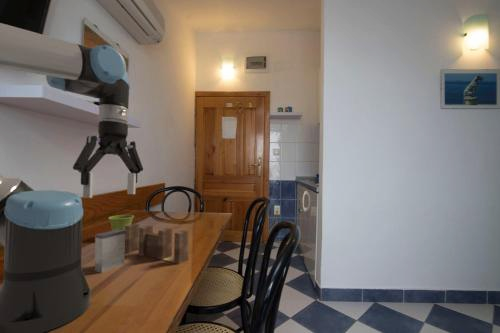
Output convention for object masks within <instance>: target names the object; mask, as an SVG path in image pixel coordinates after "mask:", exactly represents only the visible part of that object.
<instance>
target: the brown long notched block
mask: <svg viewBox="0 0 500 333" xmlns="http://www.w3.org/2000/svg"><path fill="white" fill-rule="evenodd" d="M157 232H158V233H156V232H154V226H153V225H149V224H148V225H144V226H141V227H140V224H139V223H131V224H130V225H126V226H125V253H126V254H130V253H134V252H136V251H138V256H141V257H145V256H147V257H152V258H157V260H160V261H163V262H164V261H165V262H170V263H174V264H179V265H180V264H183V263H184V262H186V261H188V260H189V230H184V229H183V230H180V231H179V230H178V231H176V232H174V243H173V228H170V227H166V228H162V229H159V230H158V231H157ZM173 244H174V247H173ZM173 248H174V249H173ZM173 250H174V251H173ZM173 252H174V254H173Z"/></svg>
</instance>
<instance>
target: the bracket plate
mask: <svg viewBox="0 0 500 333" xmlns="http://www.w3.org/2000/svg"><path fill="white" fill-rule="evenodd" d="M94 242H95V244H94V272H97V273H102V274H104V273H106V272H107V271H110V270H113V269H116V268H118V267H121V266H124V265H125V255H126V254H125V253H126V252H125V231H124V230H113V231H112V230H109V231H105V232H100V233H97V234H94Z"/></svg>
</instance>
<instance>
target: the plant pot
mask: <svg viewBox="0 0 500 333" xmlns="http://www.w3.org/2000/svg"><path fill="white" fill-rule="evenodd" d="M134 218H135V216H134V214H120V215H119V214H118V215H117V214H116V215H113V216H109V217H108V220H109V223H110V226H111V227H110V228H111V231H113V230H124V231H125V226H126V225H130V224H133V223H132V222H133V219H134Z"/></svg>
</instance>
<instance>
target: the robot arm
mask: <svg viewBox="0 0 500 333" xmlns="http://www.w3.org/2000/svg"><path fill="white" fill-rule="evenodd" d="M0 68H1V69H5V70H12V71H18V72H23V73H24V72H25V73H30V74H36V75H41V76H42V75H43V76H45V80H46V82H47V84H48V86H50V87H51V88H53V89H57V90H60V91H63V92H67V93H73V94H76V95H81V96H85V97H90V98H95V99H97V100H98V102H99V103H98V104H99V105H98V120H99V122H98V128H97V129H98V130H97V131H98V132H97V133H98V136H96V135H88V136H87V137H86V141H85V145H84V146H83V148H82V149H81V152H80V154H79V155H78V157H77V159H76V160H75V162H74V164H73V166H72V169H73V170H74V171H77V172H78V173H80V185H82V186H83V189H82V190H83V191H82V198H87V199H92V198H93V195H94V194H93V193H94V191H93V190H94V187H93V186H94V173H93V172H91V171H92V170H93V169H94V167H96V166H97V165H98V163H99V162H100V161H101V160H102V159H103V158H104V156H106V155H113V156H116V155H117V157H120V160H121V161H122V162H123V164H124V165H125V166H126V168H127V169H128V171H129V173H128V172H127V182H126V183H127V187H126V188H127V189H126V190H127V191H126V192H127V193H126V194H127V195H136V186H137V183H138V174H141V172H142V171H143V170H144V168H143V165H142V162H141V158H140V156H139V154H138V151H137V146H136V144H137V143H136V141H134V140H133V141H128V140H127V137H128V134H129V132H128V131H129V124H127V123H128V122H129V99H130V98H129V96H130V76H129V73H128V72H127V64H126V61H125V58H124V56H123V55H122V54H121V52H120V51H119V50H117V49H116V48H114V47H113V46H111V45H107V44H102V45H96V46H93V47H91V46H86V45H82V44H78V43H76V42H75V43H74V42H70V41H67V40H63V39H61V38H58V37H53V36H49V35H45V34H41V33H38V32H34V31H31V30H28V29H23V28H20V27H17V26H12V25H9V24H5V23H1V22H0ZM97 145H99V147H98V148H97V149H96V146H97ZM95 149H96V150H95ZM94 151H95V152H94ZM93 152H94V154H92V153H93ZM91 155H92V156H91ZM82 198H81V197H80V196H79V194H76V193H75V192H71V191H62V190H54V189H53V190H51V189H50V190H48V189H47V190H46V189H45V190H34V189H33V188H32V187H31V186H29V185H28V184H27V183H25V182H24V181H23V180H21V179H20V178H19V177H18V178H17V177H16V178H14V177H10V178H9V177H5V176H3V175H2V174H1V173H0V246H3V247H4V257H3V258H4V259H3V260H4V261H3V262H4V263H3V266H4V267H3V269H4V270H3V271H4V272H3V283H2V285H1V287H0V333H46V332H49V331H51V330H55V329H56V328H59V327H61V326H64V325H66V324H69V323H70V322H72V321H74V320H76V319H77V318H79V317H80V316H82V315H83V314H84V313H85V312H86V311H87V310H88V309H89V307H90V305H91V293H92V292H91V289H90V286H89V283H88V281H87V279H86V276H85V273H84V271H83V267H82V251H83V250H82V248H83V247H82V245H83V216H84V208H83V201H82Z"/></svg>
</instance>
